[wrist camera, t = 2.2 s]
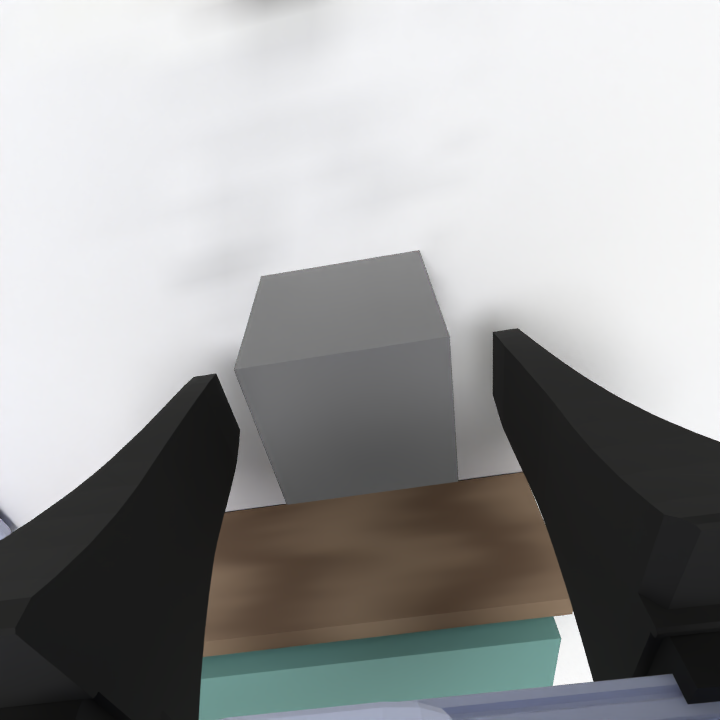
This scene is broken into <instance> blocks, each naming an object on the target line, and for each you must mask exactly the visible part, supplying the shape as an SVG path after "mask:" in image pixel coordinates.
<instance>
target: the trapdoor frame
mask: <svg viewBox="0 0 720 720" xmlns="http://www.w3.org/2000/svg"><path fill="white" fill-rule="evenodd" d="M572 612H573V609H572V605H571V602H570V599H569V595H568V592H567V589H566V586H565V583H564V579H563V576H562V573H561V570H560V567H559V564H558V561H557V558H556V554H555V551H554V548H553V545H552V543H551V540H550V537H549V534H548V531H547V528H546V525H545V523H544V520H543V518H542V516H541V513H540V511H539V508H538V506H537V503H536V501H535V499H534V496H533V494H532V491H531V489H530V486H529V484H528V481H527V479H526V477H525V475H524V473H523V472H522V473H514V474H507V475H499V476H492V477H485V478H477V479H470V480H462V481H458V482H452V483H444V484H437V485H429V486H422V487H415V488H407V489H400V490H392V491H385V492H378V493H370V494H363V495H356V496H348V497H341V498H333V499H326V500H319V501H311V502H304V503H297V504H289V505H287V504H285V505H277V506H270V507H262V508H255V509H248V510H240V511H233V512H225V513H224V517H223V521H222V525H221V529H220V533H219V537H218V542H217V546H216V551H215V556H214V563H213V570H212V578H211V585H210V592H209V601H208V609H207V618H206V627H205V637H204V649H203V657H208V656H217V655H225V654H234V653H242V652H251V651H259V650H268V649H277V648H285V647H294V646H302V645H311V644H320V643H328V642H337V641H345V640H354V639H362V638H371V637H380V636H388V635H397V634H405V633H414V632H422V631H431V630H440V629H448V628H457V627H465V626H474V625H483V624H491V623H500V622H508V621H517V620H525V619H534V618H543V617H551V616H560V615H568V614H572Z"/></svg>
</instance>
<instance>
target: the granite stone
mask: <svg viewBox="0 0 720 720" xmlns="http://www.w3.org/2000/svg"><path fill="white" fill-rule="evenodd" d="M234 371H235V373H236V376H237V379H238V381H239V384H240V386H241V389H242V391H243V394H244V396H245V399H246V402H247V404H248V407H249V409H250V412H251V414H252V417H253V419H254V422H255V424H256V427H257V430H258V432H259V435H260V437H261V440H262V442H263V445H264V447H265V450H266V453H267V455H268V458H269V460H270V463H271V465H272V468H273V470H274V473H275V475H276V478H277V481H278V483H279V486H280V488H281V491H282V493H283V496H284V498H285V501H286V504H287V505H289V504H297V503H304V502H311V501H319V500H326V499H333V498H341V497H348V496H356V495H363V494H370V493H378V492H385V491H392V490H400V489H407V488H415V487H422V486H429V485H437V484H444V483H452V482H458V469H457V452H456V435H455V418H454V401H453V384H452V368H451V351H450V336H449V333H448V330H447V327H446V325H445V322H444V319H443V316H442V313H441V311H440V308H439V305H438V302H437V299H436V296H435V294H434V291H433V288H432V285H431V282H430V279H429V277H428V274H427V271H426V268H425V265H424V262H423V260H422V257H421V254H420V251H419V250H418V251H412V252H406V253H400V254H394V255H388V256H382V257H376V258H370V259H364V260H358V261H352V262H345V263H339V264H333V265H327V266H321V267H315V268H309V269H303V270H297V271H291V272H285V273H279V274H273V275H267V276H261V279H260V282H259V286H258V289H257V293H256V296H255V299H254V303H253V306H252V310H251V313H250V317H249V320H248V323H247V327H246V330H245V334H244V337H243V340H242V344H241V347H240V351H239V354H238V358H237V361H236V364H235V368H234Z"/></svg>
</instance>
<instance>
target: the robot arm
mask: <svg viewBox="0 0 720 720" xmlns="http://www.w3.org/2000/svg"><path fill="white" fill-rule="evenodd" d="M493 397H494V400H495V404H496V407H497V410H498V414H499V417H500V420H501V423H502V426H503V429H504V431H505V433H506V436H507V438H508V440H509V442H510V444H511V447H512V449H513V451H514V453H515V455H516V458H517V460H518V462H519V464H520V466H521V468H522V471H523V473H524V475H525V477H526V479H527V481H528V484H529V486H530V488H531V490H532V492H533V494H534V497H535V499H536V501H537V504H538V506H539V508H540V511H541V513H542V516H543V519H544V522H545V525H546V528H547V531H548V534H549V537H550V540H551V543H552V545H553V548H554V551H555V554H556V558H557V561H558V564H559V567H560V570H561V573H562V576H563V579H564V583H565V586H566V589H567V592H568V595H569V599H570V602H571V605H572V609H573V612H574V615H575V619H576V622H577V625H578V629H579V632H580V635H581V639H582V642H583V646H584V649H585V653H586V656H587V660H588V664H589V667H590V671H591V674H592V678H593V681H594V682H587V683H577V684H567V685H557V686H548V687H538V688H528V689H518V690H508V691H498V692H489V693H479V694H469V695H459V696H449V697H439V698H430V699H420V700H410V701H400V702H375V703H365V704H355V705H346V706H336V707H326V708H316V709H306V710H296V711H287V712H277V713H267V714H257V715H247V716H238V717H228V718H224V719H219V720H720V442H719V441H716V440H713V439H711V438H708V437H705V436H703V435H700V434H697V433H695V432H692V431H690V430H688V429H685V428H683V427H681V426H678V425H676V424H673V423H671V422H669V421H666V420H664V419H662V418H660V417H657V416H655V415H653V414H651V413H649V412H647V411H645V410H643V409H641V408H639V407H637V406H635V405H633V404H631V403H629V402H627V401H625V400H623V399H621V398H619V397H618V396H616V395H614V394H612V393H610V392H609V391H607V390H605V389H604V388H602V387H600V386H599V385H597V384H596V383H594V382H592V381H591V380H589V379H587V378H586V377H584V376H583V375H581V374H580V373H578V372H577V371H575V370H574V369H572V368H571V367H569V366H568V365H566V364H565V363H563V362H562V361H561V360H559V359H558V358H556V357H555V356H554V355H552V354H551V353H550V352H548V351H547V350H546V349H544V348H543V347H541V346H540V345H539V344H538V343H536V342H535V341H534V340H532V339H531V338H530V337H528V336H527V335H526V334H524V333H523V332H522V331H520V330H519V329H518V328H517V329H510V330H504V331H497V332H493ZM239 436H240V429H239V427H238V424H237V422H236V419H235V417H234V415H233V412H232V410H231V408H230V405H229V403H228V400H227V398H226V396H225V393H224V391H223V389H222V386H221V384H220V381H219V379H218V377H217V374H211V375H204V376H197V377H193V378H192V379H191V380H190V381H189V382H188V383H187V384H186V385H185V386H184V387H183V388H182V389H181V390H180V391H179V392H178V393H177V394H176V395H175V396H174V397H173V398H172V399H171V400H170V401H169V402H168V403H167V404H166V406H165V407H164V408H163V409H162V410H161V411H160V412H159V413H158V414H157V415H156V416H155V417H154V418H153V419H152V420H151V421H150V422H149V423H148V424H147V425H146V426H145V427H144V428H143V429H142V430H141V431H140V432H139V433H138V434H137V435H136V436H135V437H134V438H133V439H132V440H131V441H130V442H129V443H128V444H127V445H125V446H124V447H123V448H122V449H121V450H120V451H119V452H118V453H117V454H116V455H115V456H114V457H113V458H112V459H111V460H109V461H108V462H107V463H106V464H105V465H104V466H103V467H101V468H100V469H99V470H98V471H97V472H96V473H94V474H93V475H92V476H91V477H89V478H88V479H87V480H86V481H84V482H83V483H82V484H81V485H79V486H78V487H77V488H76V489H74V490H73V491H72V492H70V493H69V494H68V495H66V496H65V497H64V498H62V499H61V500H59V501H58V502H57V503H55V504H54V505H52V506H51V507H50V508H48V509H47V510H45V511H44V512H43V513H41V514H40V515H38V516H37V517H36V518H34V519H33V520H31V521H30V522H28V523H27V524H25V525H24V526H22V527H20V528H19V529H17V530H16V531H14V532H13V533H12V531H11V529H10V528H9V527H8V526H7V525H6V524H5V523H4V522H3V521H2V519H1V518H0V720H199V706H200V688H201V673H202V661H203V649H204V637H205V627H206V618H207V609H208V601H209V592H210V585H211V578H212V570H213V563H214V556H215V551H216V546H217V542H218V537H219V533H220V529H221V525H222V521H223V517H224V513H225V509H226V505H227V502H228V498H229V494H230V490H231V485H232V481H233V477H234V473H235V469H236V464H237V456H238V447H239Z"/></svg>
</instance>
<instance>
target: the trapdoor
mask: <svg viewBox="0 0 720 720" xmlns="http://www.w3.org/2000/svg"><path fill="white" fill-rule="evenodd" d="M560 642H561V637H560V634H559V631H558V628H557V625H556V623H555V620H554V617H553V616H551V617H543V618H534V619H525V620H517V621H508V622H500V623H491V624H483V625H474V626H465V627H457V628H448V629H440V630H431V631H422V632H414V633H405V634H397V635H388V636H380V637H371V638H362V639H354V640H345V641H337V642H328V643H320V644H311V645H302V646H294V647H285V648H277V649H268V650H259V651H251V652H242V653H234V654H225V655H217V656H208V657H203V661H202V673H201V688H200V706H199V720H219V719H224V718H228V717H238V716H247V715H257V714H267V713H277V712H287V711H296V710H306V709H316V708H326V707H336V706H346V705H355V704H365V703H375V702H400V701H410V700H420V699H430V698H439V697H449V696H459V695H469V694H479V693H489V692H498V691H508V690H518V689H528V688H538V687H548V686H553V680H554V675H555V669H556V664H557V658H558V653H559V647H560Z"/></svg>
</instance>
